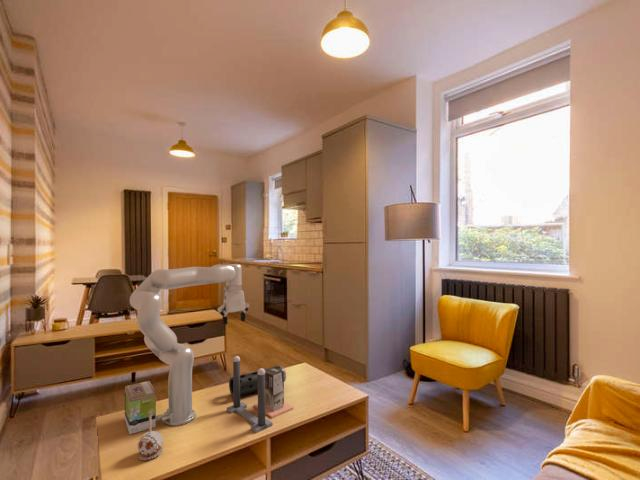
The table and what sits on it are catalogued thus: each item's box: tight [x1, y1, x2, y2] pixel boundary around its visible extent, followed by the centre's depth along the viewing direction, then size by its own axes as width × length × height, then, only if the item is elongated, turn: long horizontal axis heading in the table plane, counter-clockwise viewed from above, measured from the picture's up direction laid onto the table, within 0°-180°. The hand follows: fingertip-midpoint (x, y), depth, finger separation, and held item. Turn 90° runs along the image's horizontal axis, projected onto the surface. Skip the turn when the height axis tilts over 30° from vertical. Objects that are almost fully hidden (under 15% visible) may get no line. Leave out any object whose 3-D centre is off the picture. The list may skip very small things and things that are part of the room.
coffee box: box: [265, 366, 285, 411], centre depth 153 cm, size 9×6×16 cm
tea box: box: [124, 380, 157, 435], centre depth 141 cm, size 15×10×15 cm, turn 37°
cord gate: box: [226, 355, 274, 434], centre depth 144 cm, size 8×25×24 cm, turn 42°
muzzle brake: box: [228, 365, 287, 397], centre depth 171 cm, size 10×28×10 cm, turn 124°
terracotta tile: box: [253, 401, 295, 419], centre depth 153 cm, size 12×15×1 cm
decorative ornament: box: [136, 413, 163, 461], centre depth 119 cm, size 8×8×15 cm
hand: (234, 322), depth 166 cm, fingers open, 9 cm apart
